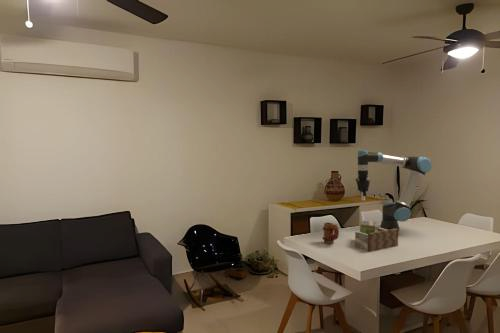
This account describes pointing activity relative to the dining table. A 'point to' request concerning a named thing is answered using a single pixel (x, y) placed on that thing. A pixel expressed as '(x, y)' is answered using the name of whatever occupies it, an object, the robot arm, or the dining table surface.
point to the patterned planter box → (377, 239)
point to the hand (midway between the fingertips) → (363, 200)
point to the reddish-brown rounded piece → (330, 233)
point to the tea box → (367, 227)
